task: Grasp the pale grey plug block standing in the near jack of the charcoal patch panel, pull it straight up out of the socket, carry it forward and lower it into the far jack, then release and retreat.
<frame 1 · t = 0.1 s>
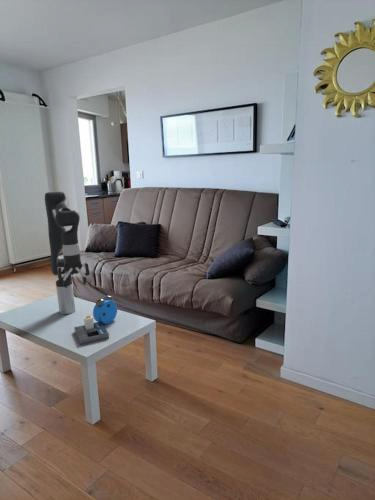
hand: (75, 285, 166), 29 cm above the table, fingers open, 8 cm apart
plug: (89, 331, 182), resting on panel
alarm clock: (106, 322, 194), on the table, touching panel
panel: (91, 335, 178), on the table
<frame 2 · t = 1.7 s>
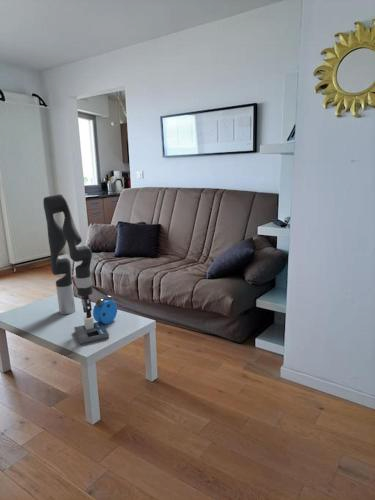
hand: (87, 314, 179), 10 cm above the table, fingers open, 8 cm apart
nothing on the table moved.
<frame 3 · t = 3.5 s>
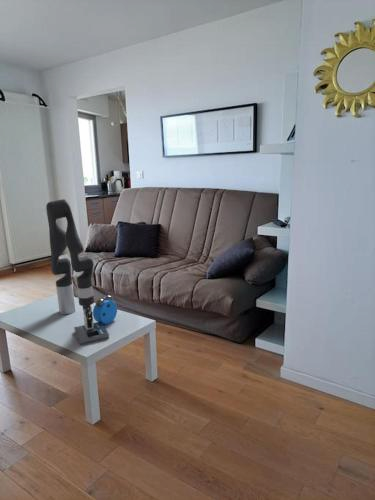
hand: (89, 325, 181), 4 cm above the table, fingers closed on plug, 4 cm apart
plug: (89, 331, 182), resting on panel, touching gripper
everything else where it was.
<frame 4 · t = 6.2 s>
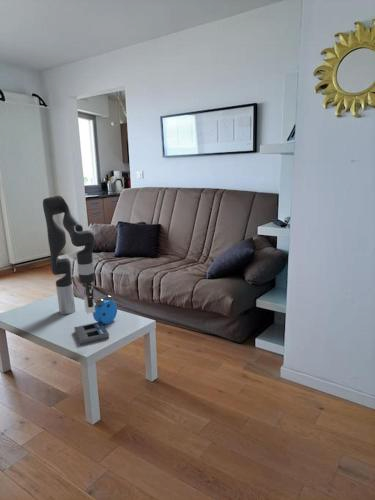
hand: (89, 305, 170), 18 cm above the table, fingers closed on plug, 4 cm apart
plug: (90, 311, 171), point 15 cm above the table, touching gripper
everything else where it was.
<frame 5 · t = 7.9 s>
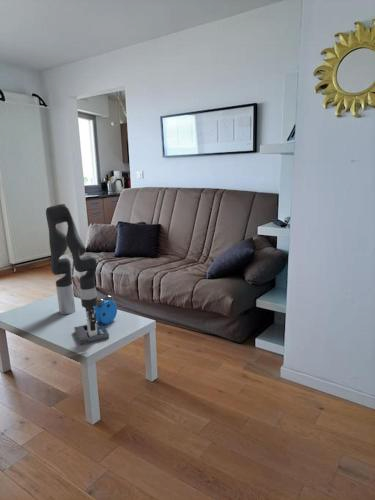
hand: (92, 328, 173), 6 cm above the table, fingers closed on plug, 4 cm apart
plug: (92, 334, 173), point 3 cm above the table, touching gripper
everything else where it was.
when the fingers open (4 cm above the table, at t = 9.2 s): plug stays where it is, resting on panel.
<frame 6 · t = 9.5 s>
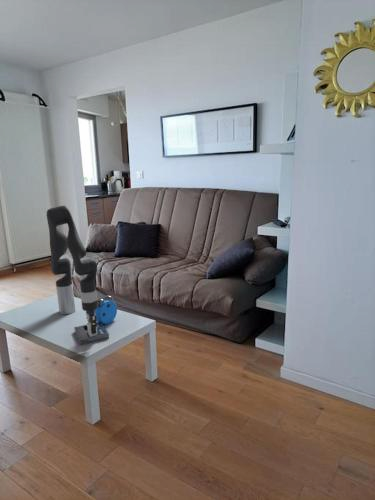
hand: (92, 330, 173), 5 cm above the table, fingers open, 6 cm apart
plug: (93, 338, 174), resting on panel
everything else where it was.
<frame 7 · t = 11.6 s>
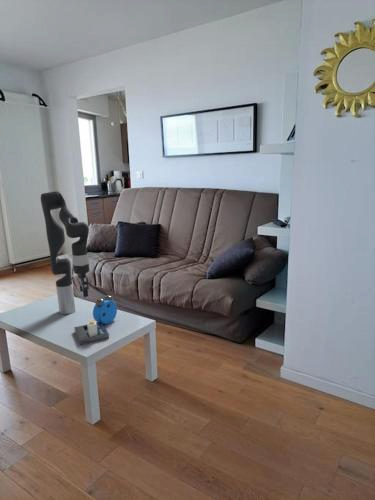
hand: (84, 293, 174), 23 cm above the table, fingers open, 8 cm apart
nothing on the table moved.
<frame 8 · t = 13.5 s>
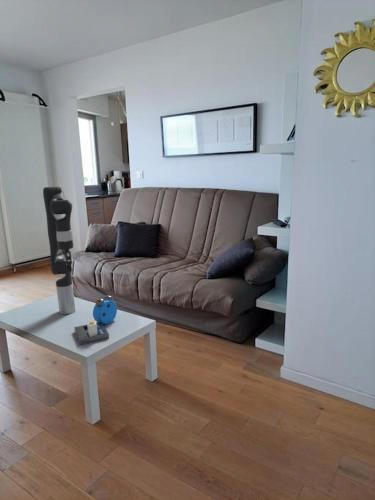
hand: (68, 269, 180), 33 cm above the table, fingers open, 8 cm apart
nothing on the table moved.
at the end: plug 0.1 cm from the target spot on the panel, point 0.5 cm above the panel's base; plug tilted 0°; the gripper is holding nothing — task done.
